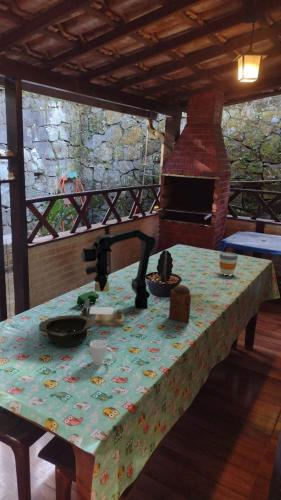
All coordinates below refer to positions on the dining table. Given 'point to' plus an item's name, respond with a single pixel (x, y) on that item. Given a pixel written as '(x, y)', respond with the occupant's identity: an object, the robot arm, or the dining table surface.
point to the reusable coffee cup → (227, 262)
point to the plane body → (107, 318)
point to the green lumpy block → (87, 297)
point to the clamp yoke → (86, 308)
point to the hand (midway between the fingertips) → (102, 289)
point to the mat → (101, 310)
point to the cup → (99, 351)
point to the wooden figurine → (180, 303)
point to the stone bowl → (67, 329)
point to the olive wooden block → (97, 287)
